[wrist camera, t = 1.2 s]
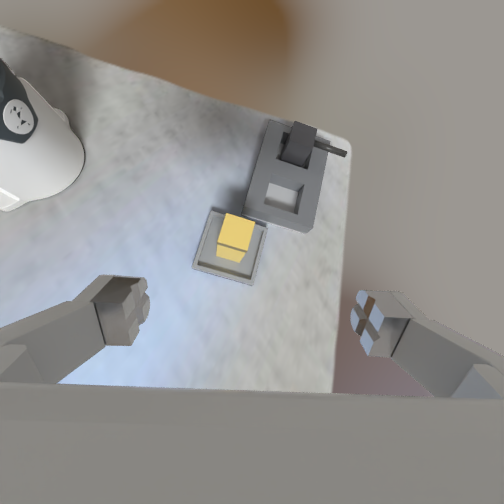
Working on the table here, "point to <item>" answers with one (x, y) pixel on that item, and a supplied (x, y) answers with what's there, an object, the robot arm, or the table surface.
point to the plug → (234, 237)
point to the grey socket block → (288, 176)
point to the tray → (225, 267)
